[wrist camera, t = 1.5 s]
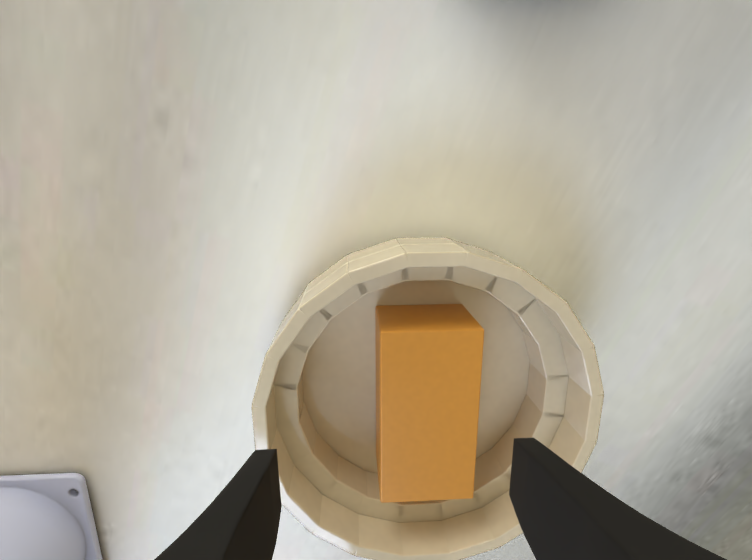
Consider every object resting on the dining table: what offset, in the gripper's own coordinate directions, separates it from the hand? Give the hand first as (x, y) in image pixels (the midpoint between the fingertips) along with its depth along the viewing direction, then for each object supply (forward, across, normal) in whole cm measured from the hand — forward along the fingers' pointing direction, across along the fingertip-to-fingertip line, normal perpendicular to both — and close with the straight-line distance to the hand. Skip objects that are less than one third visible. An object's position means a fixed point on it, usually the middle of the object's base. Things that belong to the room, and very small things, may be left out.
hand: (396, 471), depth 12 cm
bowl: (+9, -2, +2) cm, 10 cm away
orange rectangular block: (+9, -2, +2) cm, 9 cm away
